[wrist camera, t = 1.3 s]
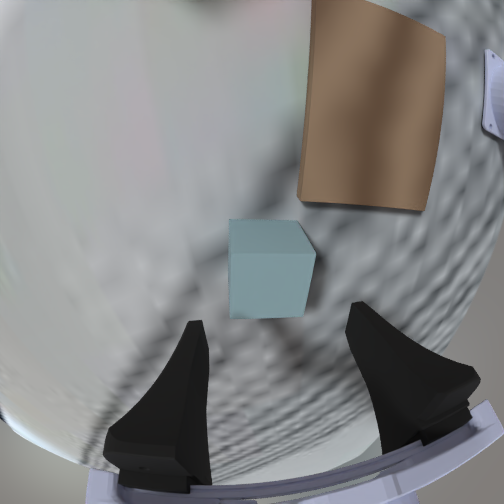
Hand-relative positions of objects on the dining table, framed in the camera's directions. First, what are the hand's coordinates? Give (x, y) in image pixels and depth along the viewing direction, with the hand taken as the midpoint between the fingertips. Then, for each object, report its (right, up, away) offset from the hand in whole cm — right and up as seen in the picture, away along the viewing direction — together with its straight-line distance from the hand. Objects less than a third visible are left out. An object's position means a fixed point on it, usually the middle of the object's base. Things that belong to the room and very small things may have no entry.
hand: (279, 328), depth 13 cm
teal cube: (-1, +4, +7) cm, 8 cm away
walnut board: (+7, +13, +2) cm, 15 cm away
